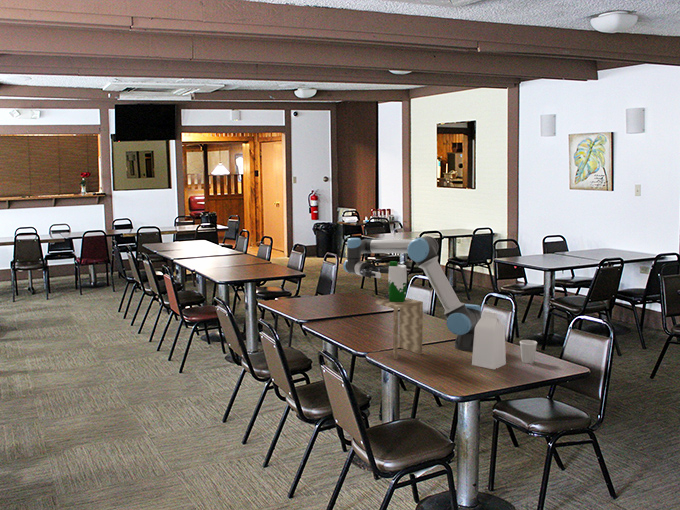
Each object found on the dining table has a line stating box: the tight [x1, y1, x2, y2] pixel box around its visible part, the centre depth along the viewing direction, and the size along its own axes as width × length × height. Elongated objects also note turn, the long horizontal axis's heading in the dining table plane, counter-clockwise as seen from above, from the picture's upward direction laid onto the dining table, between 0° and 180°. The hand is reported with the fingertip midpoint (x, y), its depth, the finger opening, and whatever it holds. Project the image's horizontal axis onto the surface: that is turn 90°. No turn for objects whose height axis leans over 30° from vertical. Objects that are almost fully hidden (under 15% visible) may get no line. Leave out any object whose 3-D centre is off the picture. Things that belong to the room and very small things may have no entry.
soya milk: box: [387, 260, 408, 302], centre depth 353 cm, size 9×9×20 cm
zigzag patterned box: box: [374, 297, 424, 360], centre depth 357 cm, size 16×18×27 cm
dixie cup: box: [519, 339, 538, 364], centre depth 342 cm, size 8×8×10 cm
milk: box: [471, 310, 507, 370], centre depth 336 cm, size 12×12×26 cm
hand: (390, 274), depth 356 cm, fingers open, 13 cm apart
